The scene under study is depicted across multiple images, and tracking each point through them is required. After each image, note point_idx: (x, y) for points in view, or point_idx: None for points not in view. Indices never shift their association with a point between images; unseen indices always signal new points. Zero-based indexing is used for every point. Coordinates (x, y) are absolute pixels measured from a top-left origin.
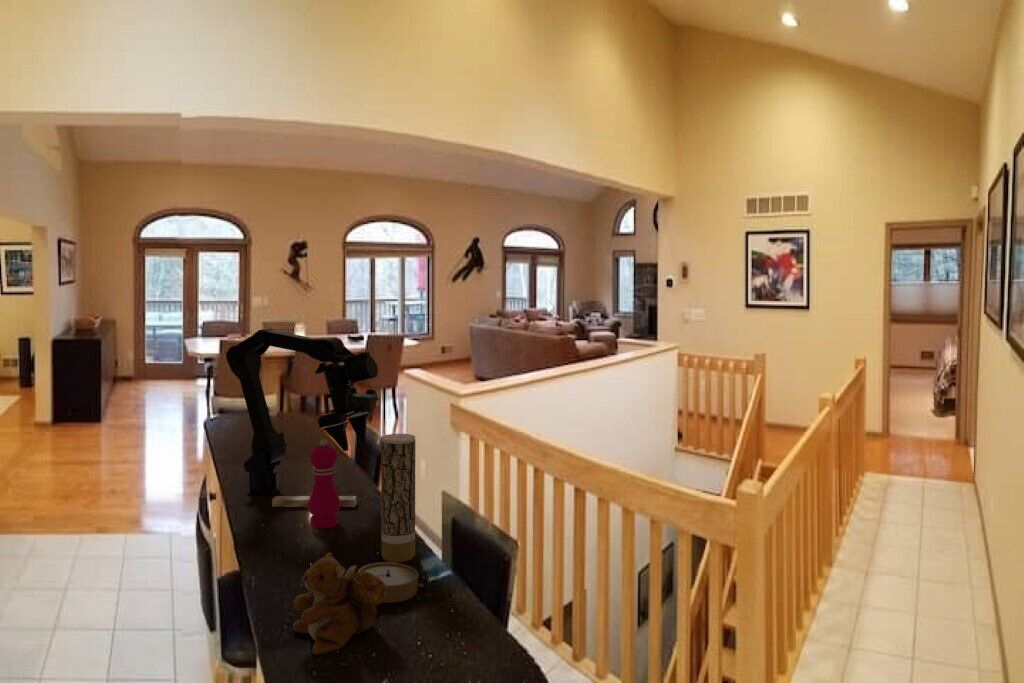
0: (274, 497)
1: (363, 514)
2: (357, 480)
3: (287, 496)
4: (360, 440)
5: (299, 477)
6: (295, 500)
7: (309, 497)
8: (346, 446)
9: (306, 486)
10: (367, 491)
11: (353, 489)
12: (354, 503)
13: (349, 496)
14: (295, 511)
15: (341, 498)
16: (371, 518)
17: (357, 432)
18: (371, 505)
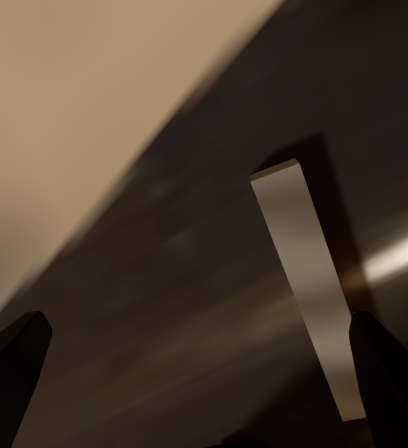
0: (356, 418)
1: (361, 78)
2: (29, 298)
3: (335, 390)
4: (43, 352)
5: (95, 445)
6: None
7: (324, 327)
8: (398, 343)
9: (154, 398)
10: (109, 211)
11: (113, 265)
12: (296, 161)
13: (265, 204)
14: (389, 320)
15: (299, 220)
16: (404, 12)
17: (2, 437)
18: (246, 109)
